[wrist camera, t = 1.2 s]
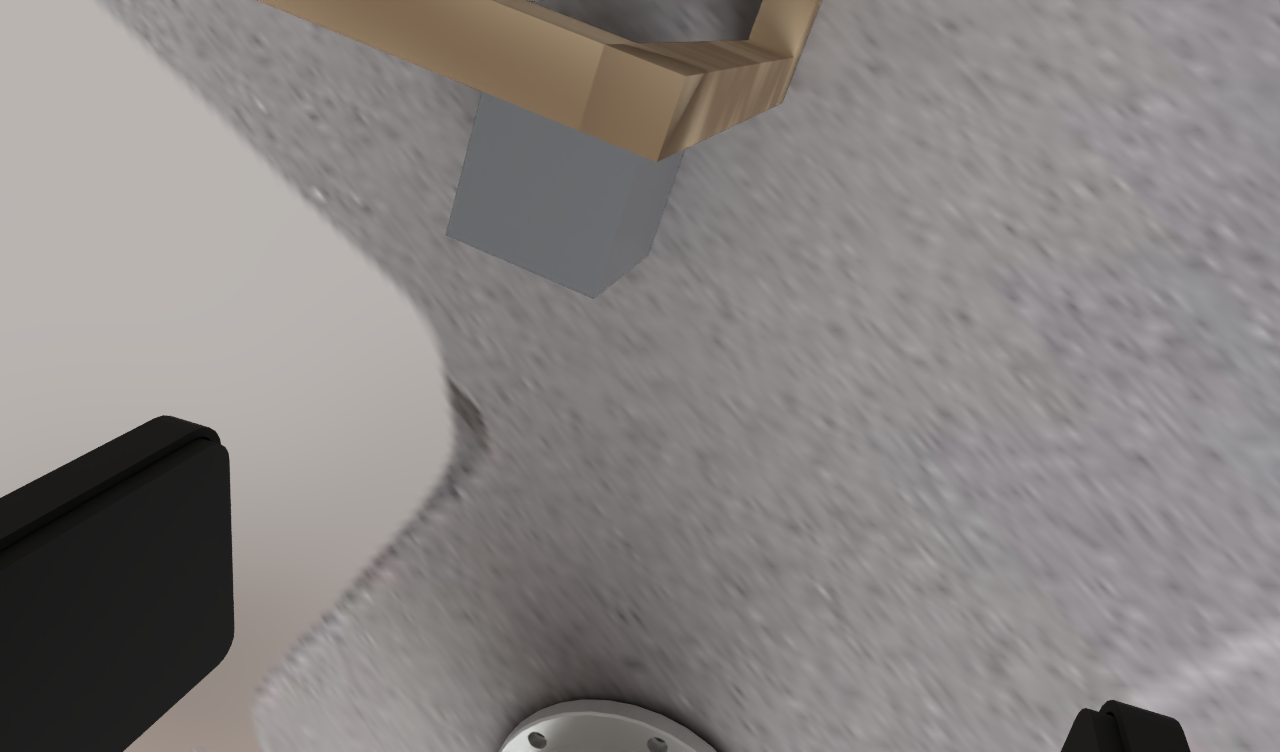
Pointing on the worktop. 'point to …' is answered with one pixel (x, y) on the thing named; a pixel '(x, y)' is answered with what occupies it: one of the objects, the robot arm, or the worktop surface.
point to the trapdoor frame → (585, 64)
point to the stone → (557, 198)
